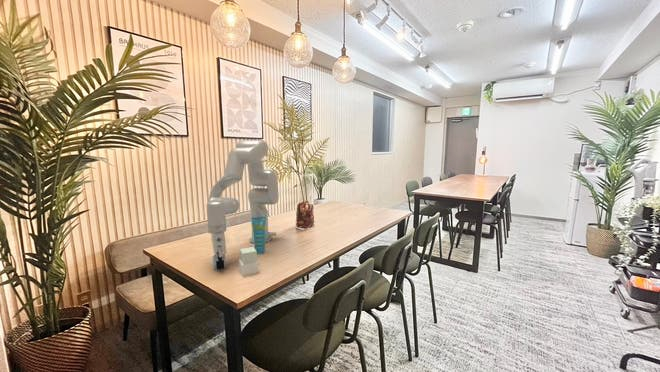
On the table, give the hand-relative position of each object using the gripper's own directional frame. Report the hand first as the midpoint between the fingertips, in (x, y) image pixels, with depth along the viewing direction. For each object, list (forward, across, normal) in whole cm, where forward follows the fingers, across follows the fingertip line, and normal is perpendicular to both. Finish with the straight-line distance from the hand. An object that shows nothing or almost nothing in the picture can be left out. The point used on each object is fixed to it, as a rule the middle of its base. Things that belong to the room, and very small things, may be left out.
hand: (219, 265), depth 124 cm
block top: (-4, -10, -11) cm, 15 cm away
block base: (+1, -10, -11) cm, 15 cm away
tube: (+1, +10, -21) cm, 23 cm away
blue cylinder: (+1, 0, 0) cm, 1 cm away
